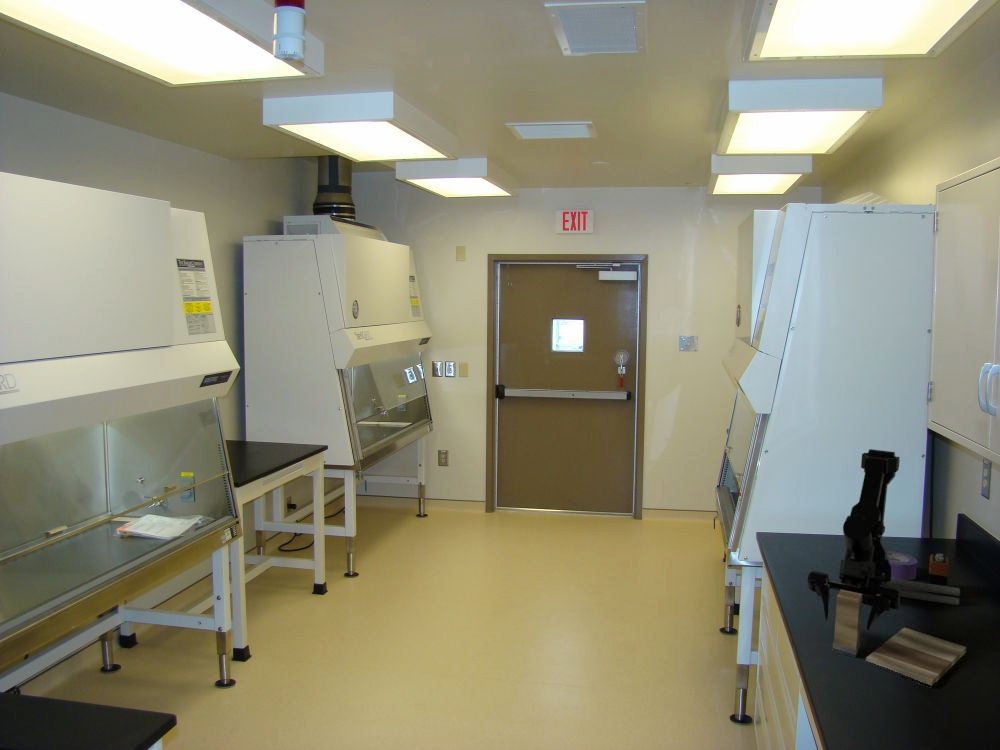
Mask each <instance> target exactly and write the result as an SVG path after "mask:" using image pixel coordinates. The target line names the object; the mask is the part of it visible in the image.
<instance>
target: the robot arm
mask: <svg viewBox="0 0 1000 750" xmlns="http://www.w3.org/2000/svg"><path fill="white" fill-rule="evenodd" d="M895 452H896V451H888V450H880V449H879V450H878V449H872V448H870V449H868V451H867V452H863V453H862V454H861V464H860V468H861V469H863V471H864V477H863V481H862V486H861V490H860V491H861V492H860V496H859V501H858V502H857V503H856V504H854V505H853V506H852V507H851V511H850V514H849V515H847V516H846V519H845V521H844V522H843V525H842V532H843V538H844V543H845V546H846V549H845V555H844V559H841V560H840V568H839V575H838V579H839V581H837V580H834V579H833V580H832V579H829V574H828V573H825V572H820V571H816V570H815V571H814V570H812V571H810V572H809V573H808V576H807V583H808V588H809V591H811V592H812V593H816V594H815V595H816V596H817V597H820V598H821V600H822V603H823V611H824V617H825V621H826V622H827V621H829V617H830V605H831V593H830V590H835V591H840V590H846V591H850V592H855V593H860V594H862V603H864V604H868V605H871V610H870V613H869V614H868V615H869V616H868V619H867V624H866V630H867V631H870V630H871V628H872V627H873V625H874V624H875V622H876V621H877V620H878V619H879V617H880V616H881V615H882V614H883V613H884V612H885V611H886V612H889V611H891V610H892V609H893V610H899V609H900V603H901V602H900V601H901V598H900V592H899V590H898V589H899V588H898V587H890V586H885V585H882V582H884V583H887V582H890V581H891V565H890V563H889V560H888V559H887V551H888V550H887V551H886V548H885V545H884V543H883V542H882V541H883V540H882V539H883V535H884V533H886V532H885V531H886V526H885V523H884V520H885V512H886V503H887V502H886V501H887V493H888V486H889V484H890V483H891V482H892V481H893V480H894V478H895V477H896V473H897V472H898V471H899V468H900V456H896V453H895ZM883 573H884V574H883ZM897 588H898V589H897Z"/></svg>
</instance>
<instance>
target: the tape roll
mask: <svg viewBox="0 0 1000 750" xmlns="http://www.w3.org/2000/svg"><path fill="white" fill-rule="evenodd" d="M886 551H887V559H888V560H889V563H890V565H891V578H895V579H899V580H906V581H909V580H911V581H914V580H916V577H917V568H918V560H917V558H915V557H914V556H912V555H910V554H907V553H903V552H898V551H893V550H886ZM883 574H884V573H883ZM913 579H914V580H913Z"/></svg>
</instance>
